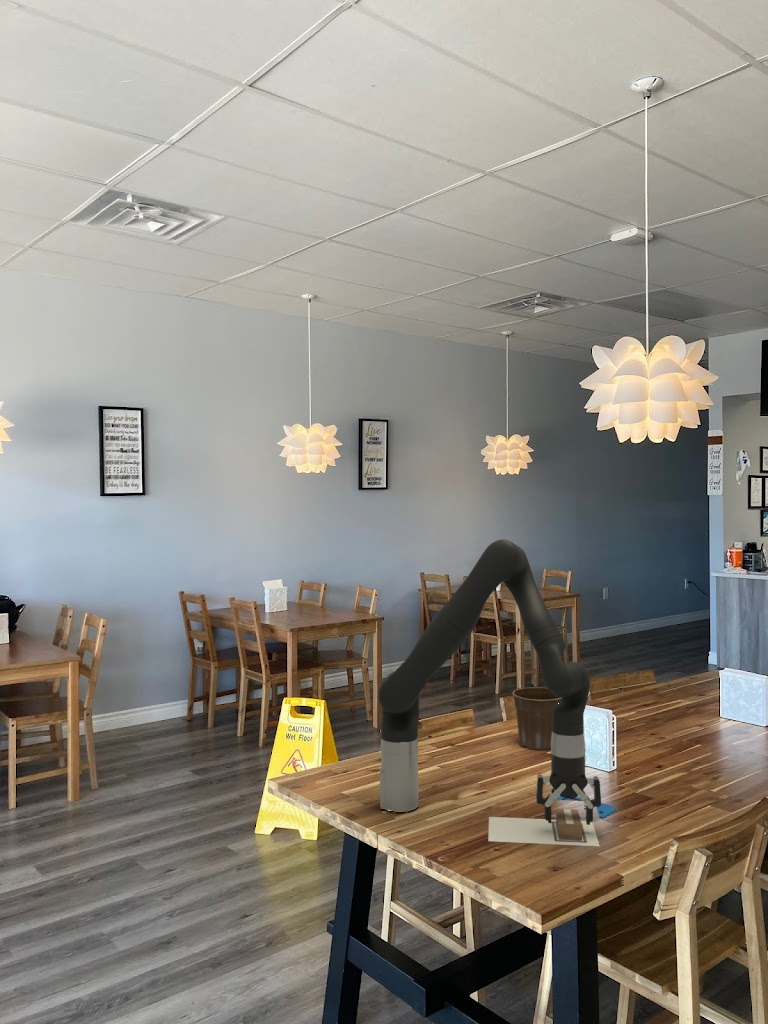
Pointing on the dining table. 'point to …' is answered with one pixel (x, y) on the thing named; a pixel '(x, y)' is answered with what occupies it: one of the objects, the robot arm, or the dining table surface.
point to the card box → (568, 824)
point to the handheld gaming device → (602, 810)
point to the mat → (535, 832)
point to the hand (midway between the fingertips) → (568, 822)
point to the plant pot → (535, 716)
